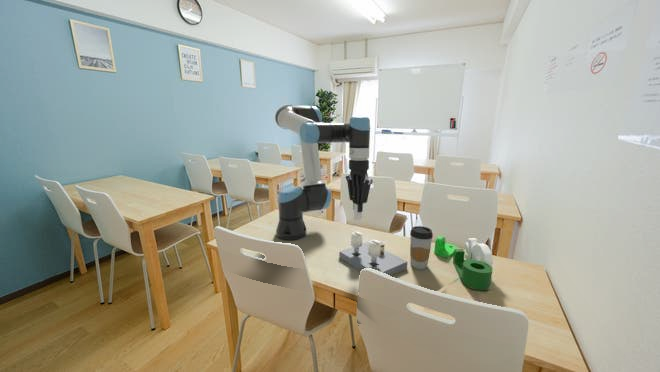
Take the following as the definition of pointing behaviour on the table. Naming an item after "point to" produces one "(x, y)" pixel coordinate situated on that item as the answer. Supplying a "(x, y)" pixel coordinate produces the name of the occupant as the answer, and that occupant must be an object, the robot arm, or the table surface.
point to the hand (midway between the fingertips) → (357, 219)
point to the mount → (363, 260)
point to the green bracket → (472, 271)
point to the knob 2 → (374, 250)
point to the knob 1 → (356, 240)
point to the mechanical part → (443, 248)
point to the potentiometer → (382, 249)
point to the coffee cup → (420, 246)
